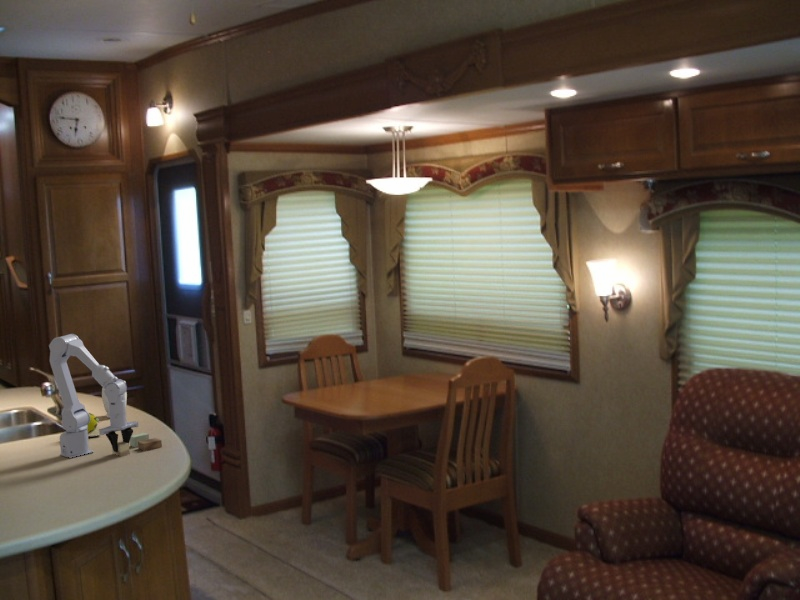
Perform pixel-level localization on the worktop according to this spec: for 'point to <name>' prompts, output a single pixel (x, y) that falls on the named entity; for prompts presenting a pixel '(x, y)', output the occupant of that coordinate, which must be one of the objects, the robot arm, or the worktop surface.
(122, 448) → the maple brick
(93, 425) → the toy
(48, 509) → the worktop surface
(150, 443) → the walnut slab
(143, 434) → the sage brick
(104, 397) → the jar
